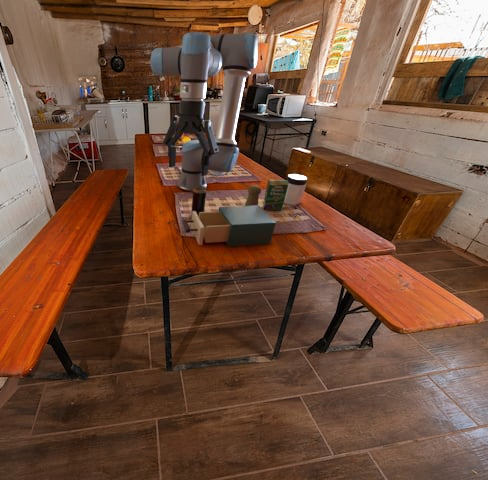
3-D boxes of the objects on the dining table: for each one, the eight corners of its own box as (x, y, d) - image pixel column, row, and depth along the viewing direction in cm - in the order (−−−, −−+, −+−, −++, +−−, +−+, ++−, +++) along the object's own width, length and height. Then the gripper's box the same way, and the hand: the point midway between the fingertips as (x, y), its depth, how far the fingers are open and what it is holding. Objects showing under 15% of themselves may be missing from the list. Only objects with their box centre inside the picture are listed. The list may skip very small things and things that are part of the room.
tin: (189, 214, 108) (191, 186, 101) (201, 213, 109) (204, 185, 102) (192, 220, 104) (194, 191, 97) (205, 219, 104) (208, 190, 98)
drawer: (186, 246, 86) (187, 228, 83) (180, 227, 96) (181, 211, 93) (239, 242, 89) (242, 225, 85) (227, 225, 99) (230, 209, 95)
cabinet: (227, 246, 88) (231, 224, 83) (216, 227, 99) (218, 206, 95) (270, 243, 90) (276, 222, 85) (253, 225, 101) (258, 205, 97)
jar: (292, 206, 117) (300, 181, 110) (277, 200, 122) (283, 176, 116) (303, 202, 121) (311, 177, 114) (288, 196, 127) (295, 172, 120)
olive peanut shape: (255, 214, 109) (260, 190, 103) (241, 210, 112) (246, 186, 106) (259, 209, 114) (264, 185, 108) (245, 205, 116) (250, 182, 110)
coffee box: (262, 209, 113) (269, 181, 106) (261, 206, 116) (268, 178, 109) (281, 211, 112) (289, 182, 105) (280, 208, 115) (288, 180, 108)
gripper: (152, 97, 80) (153, 165, 91) (223, 103, 67) (213, 181, 78) (167, 96, 85) (166, 161, 96) (236, 102, 72) (225, 176, 83)
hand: (187, 170), depth 87 cm, fingers open, 13 cm apart
